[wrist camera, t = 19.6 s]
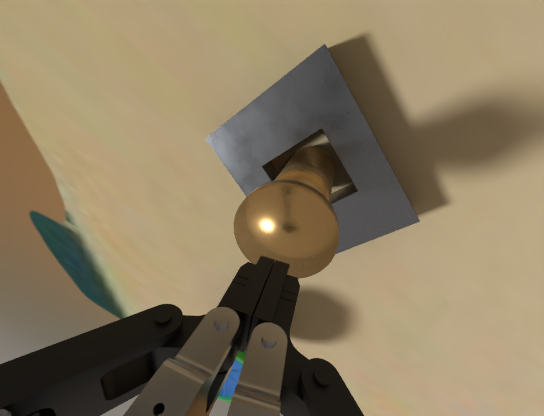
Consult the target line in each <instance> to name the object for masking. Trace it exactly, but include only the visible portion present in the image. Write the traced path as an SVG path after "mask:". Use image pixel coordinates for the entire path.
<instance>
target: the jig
mask: <svg viewBox="0 0 544 416" xmlns="http://www.w3.org/2000/svg"><path fill="white" fill-rule="evenodd" d="M321 128H322V130H323V131H324V133H325V135H326V137H327V138H328V140H329V142H330V143H331V145H332V147H333V149H334V150H335V152H336V154H337V155H338V157H339V159H340V161H341V162H342V164H343V166H344V167H345V169H346V171H347V173H348V174H349V176H350V178H351V179H352V181H353V183H352V184H350V185H348V186H346V187H344V188H342V189H340V190H338V191H336V192H334V193H332V194H331V198H330V203H331V205H332V206H333V208H334V210H335V212H336V215H337V218H338V223H339V238H338V247H337V250H336V253H335V254H337V253H339V252H342V251H345V250H347V249H350V248H352V247H355V246H357V245H360V244H363V243H365V242H368V241H370V240H373V239H376V238H378V237H381V236H383V235H386V234H389V233H391V232H394V231H396V230H399V229H402V228H404V227H407V226H409V225H412V224H414V223H417V222H420V220H419V219H418V217H417V215H416V213H415V211H414V209H413V207H412V206H411V204H410V202H409V200H408V198H407V196H406V194H405V192H404V191H403V189H402V187H401V185H400V183H399V181H398V179H397V177H396V176H395V174H394V172H393V170H392V168H391V166H390V164H389V163H388V161H387V159H386V157H385V155H384V153H383V151H382V149H381V148H380V146H379V144H378V142H377V140H376V138H375V136H374V134H373V133H372V131H371V129H370V127H369V125H368V123H367V121H366V120H365V118H364V116H363V114H362V112H361V110H360V108H359V106H358V105H357V103H356V101H355V99H354V97H353V95H352V93H351V91H350V90H349V88H348V86H347V84H346V82H345V80H344V78H343V77H342V75H341V73H340V71H339V69H338V67H337V65H336V63H335V62H334V60H333V58H332V56H331V54H330V52H329V50H328V48H327V47H326V45H325V44H324V45H323V46H321V47H320V48H319V49H318V50H316V51H315V52H314V53H313V54H311V55H310V56H309V57H308V58H306V59H305V60H304V61H303V62H301V63H300V64H299V65H297V66H296V67H295V68H294V69H292V70H291V71H290V72H289V73H287V74H286V75H285V76H284V77H282V78H281V79H280V80H279V81H277V82H276V83H275V84H274V85H272V86H271V87H270V88H268V89H267V90H266V91H265V92H263V93H262V94H261V95H260V96H258V97H257V98H256V99H255V100H253V101H252V102H251V103H250V104H248V105H247V106H246V107H245V108H243V109H242V110H241V111H240V112H238V113H237V114H236V115H234V116H233V117H232V118H231V119H229V120H228V121H227V122H226V123H224V124H223V125H222V126H221V127H219V128H218V129H217V130H216V131H214V132H213V133H212V134H211V135H209V136H208V137H207V138H205V139H206V140H207V141H208V143H209V144H210V146H211V147H212V149H213V150H214V151H215V153H216V154H217V156H218V157H219V158H220V160H221V161H222V163H223V164H224V165H225V167H226V168H227V170H228V171H229V172H230V174H231V175H232V177H233V178H234V180H235V181H236V182H237V184H238V185H239V187H240V188H241V189H242V191H243V192H244V194H245V195H246V196H248V195H249V194H250V193H251V192H252V191H253V190H254V189H256V188H257V187H258V186H260V185H262V184H264V183H267V182H270V181H274V180H275V179H276V178H277V177H278V175H279V173H278V171H277V170H276V168H275V167H274V165H273V164H272V162H271V160H272V159H274V158H275V157H277V156H279V155H280V154H282V153H283V152H285V151H286V150H288V149H290V148H291V147H293V146H294V145H296V144H297V143H299V142H301V141H302V140H304V139H305V138H307V137H308V136H310V135H312V134H313V133H315V132H316V131H318V130H319V129H321Z"/></svg>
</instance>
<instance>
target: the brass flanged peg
mask: <svg viewBox="0 0 544 416" xmlns="http://www.w3.org/2000/svg"><path fill="white" fill-rule="evenodd" d="M333 176H334V163H333V160H332V158H331V157H330V155H329V154H328V153H327V152H325V151H324V150H322V149H320V148H317V147H305V148H302V149H300V150H298V151H297V152H296V153H295V154H294V155H293V156H292V158H291V159H290V160H289V162H288V163H287V164H286V166H285V167H284V168H283V170H282V171H281V172H280V174H279V175H278V177H277V178H276V179H275V180H274V181H270V182H267V183H264V184H262V185H260V186H258V187H257V188H256V189H254V190H253V191H252V192H251V193H250V194H249V195H248V196H247V197H246V199H245V200H244V201H243V202H242V204H241V205H240V206H239V208H238V210H237V212H236V215H235V219H234V234H235V238H236V241H237V244H238V246H239V248H240V250H241V251H242V253H243V254H244V255H245V257H246V258H247V259H248V260H249V261H250V262H251V263H253V264H257V262H258V260H259V258H260V256H261V255H262V256H265V257H268V258H272V259H275V261H276V260H278V261H282V262H285V263H288V264H290V266H289V270H288V275H291V276H294V277H297V278H305V277H308V276H312V275H314V274H316V273H318V272H320V271H321V270H323V269H324V268H325V267H326V266H327V265H328V264H329V263H330V262H331V260H332V259H333V257H334V255H335V253H336V250H337V247H338V238H339V223H338V218H337V215H336V212H335V210H334V208H333V206H332V205H331V203H330V198H331V191H332V184H333Z"/></svg>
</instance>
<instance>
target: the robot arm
mask: <svg viewBox="0 0 544 416" xmlns="http://www.w3.org/2000/svg"><path fill="white" fill-rule="evenodd" d="M289 266H290V264H288V263H285V262H282V261H278V260H276V261H275V259H272V258H268V257H265V256H262V255H261V256H260V258H259V260H258V262H257V264H253V263H249V262H247V263H246V264H244V265H243V266H241V267H240V269H239V270H238V272H237V274H236V276H235V277H234V279H233V281H232V282H231V284H230V286H229V288H228V289H227V291H226V293H225V295H224V296H223V298H222V300H221V301H220V303H219V305H218V306H217V308H214V309H212V310H210V311H209V312H208V313H207V314H206V315H201V316H186V315H183V314H182V311H181V310H180V308H178V307H177V306H175V305H172V304H162V305H158V306H156V307H153V308H150V309H147V310H145V311H142V312H139V313H137V314H134V315H131V316H129V317H126V318H123V319H121V320H118V321H115V322H113V323H110V324H107V325H105V326H102V327H99V328H97V329H94V330H91V331H88V332H86V333H83V334H80V335H78V336H75V337H73V338H70V339H67V340H64V341H62V342H59V343H56V344H54V345H51V346H48V347H45V348H43V349H40V350H38V351H35V352H32V353H29V354H27V355H25V356H21V357H19V358H16V359H14V360H11V361H8V362H5V363H3V364H0V416H100V415H102V414H104V413H106V412H107V411H109V410H111V409H113V408H115V407H117V406H118V405H120V404H122V403H124V402H126V401H128V400H129V399H131V398H133V397H135V396H136V395H138V394H139V395H138V397H137V398H136V399H135V401H134V402H133V404H132V405H131V406H130V408H129V409H128V410H127V411H126V413H125V414H124V415H123V416H209V414H210V412H211V410H212V408H213V406H214V404H215V402H216V400H217V398H218V396H219V394H220V392H221V390H222V388H223V386H224V383H225V381H226V379H227V377H228V375H229V373H230V371H231V369H232V365H233V363H234V361H235V359H236V356H237V354H238V351H240V352H243V353H244V352H245V349H246V347H247V349H246V355H245V359H244V362H243V366H242V369H241V373H240V376H239V380H238V383H237V386H236V388H235V391H234V394H233V397H232V400H231V404H230V407H229V411H228V414H227V416H279V415H280V413H281V414H283V416H364V415H363V413H362V411H361V410H360V408H359V406H358V405H357V403H356V401H355V400H354V398H353V396H352V395H351V393H350V391H349V390H348V388H347V386H346V385H345V383H344V381H343V380H342V378H341V376H340V375H339V373H338V371H337V370H336V368H335V367H334V366H333V365H332V364H331V363H329V362H328V361H326V360H324V359H320V358H313V359H310V360H309V359H307V358H306V357H305V356H303V355H302V354H301V353H299V352H298V351H297V350H296V349H295V347H294V346H293V344H292V342H291V340H290V335H289V332H290V327H291V322H292V318H293V314H294V309H295V305H296V301H297V296H298V292H299V288H300V285H299V282H298V278H297V277H294V276H291V275H288V270H289ZM247 344H248V345H247Z"/></svg>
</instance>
